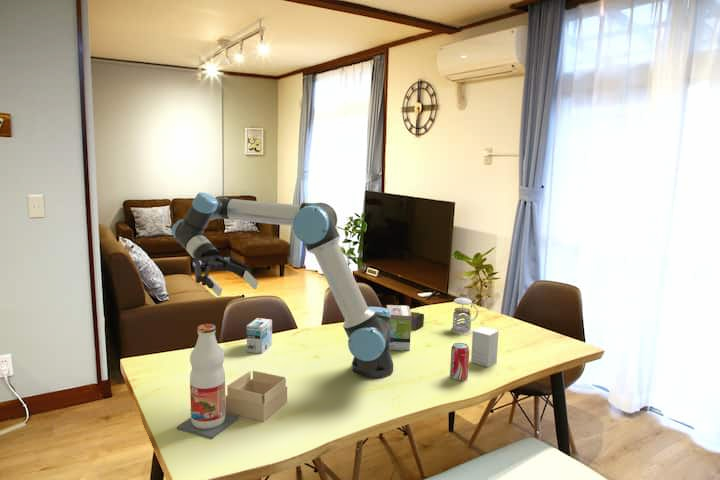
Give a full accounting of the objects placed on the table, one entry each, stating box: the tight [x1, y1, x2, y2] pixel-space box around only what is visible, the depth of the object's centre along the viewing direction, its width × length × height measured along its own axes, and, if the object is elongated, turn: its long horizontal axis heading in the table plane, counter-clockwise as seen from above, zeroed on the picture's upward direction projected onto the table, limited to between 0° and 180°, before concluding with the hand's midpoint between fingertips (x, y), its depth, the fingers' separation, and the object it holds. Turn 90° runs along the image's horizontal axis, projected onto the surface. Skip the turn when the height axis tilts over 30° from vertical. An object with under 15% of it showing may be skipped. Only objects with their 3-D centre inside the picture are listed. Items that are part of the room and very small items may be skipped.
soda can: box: [449, 342, 471, 381], centre depth 177 cm, size 6×6×12 cm
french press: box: [450, 276, 479, 335], centre depth 226 cm, size 10×12×25 cm
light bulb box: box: [246, 317, 273, 354], centre depth 199 cm, size 11×7×11 cm, turn 168°
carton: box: [225, 370, 288, 422], centre depth 152 cm, size 13×13×8 cm
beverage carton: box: [410, 311, 425, 331], centre depth 234 cm, size 8×19×7 cm, turn 59°
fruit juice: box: [189, 323, 227, 429], centre depth 140 cm, size 9×9×28 cm
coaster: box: [176, 412, 240, 439], centre depth 143 cm, size 12×12×1 cm
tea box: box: [386, 304, 412, 351], centre depth 208 cm, size 15×10×15 cm, turn 179°
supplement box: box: [470, 326, 499, 368], centre depth 191 cm, size 7×7×13 cm
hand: (239, 289), depth 156 cm, fingers open, 13 cm apart
